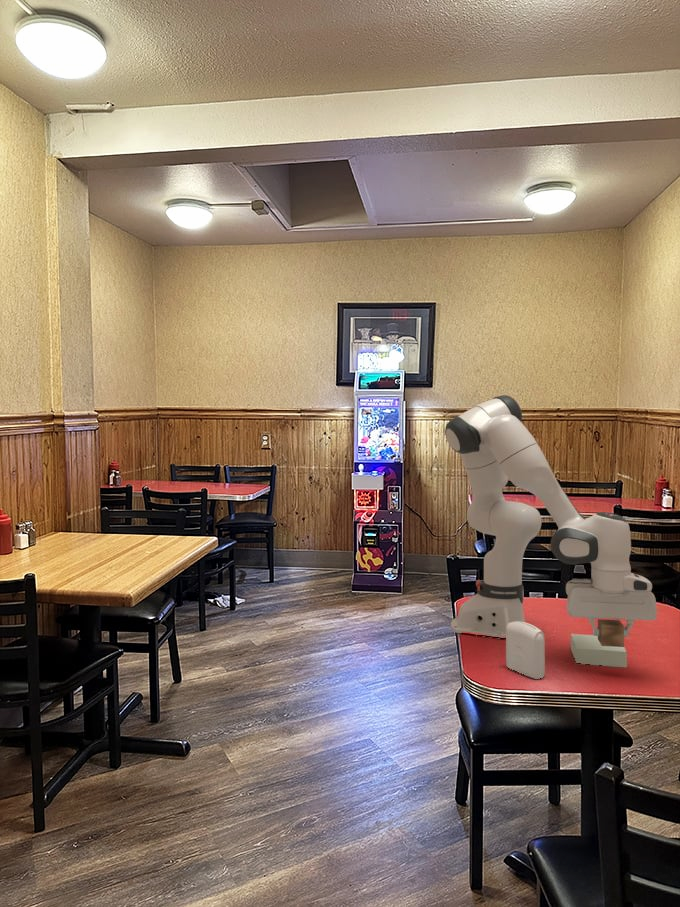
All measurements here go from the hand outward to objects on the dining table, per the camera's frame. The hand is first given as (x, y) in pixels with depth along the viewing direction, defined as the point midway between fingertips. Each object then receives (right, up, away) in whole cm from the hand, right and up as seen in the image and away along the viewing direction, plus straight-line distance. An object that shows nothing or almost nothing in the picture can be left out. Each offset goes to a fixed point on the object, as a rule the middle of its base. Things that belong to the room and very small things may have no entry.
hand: (610, 636), depth 154 cm
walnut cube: (0, -2, 0) cm, 2 cm away
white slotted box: (-20, -10, +2) cm, 23 cm away
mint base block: (+2, -9, +12) cm, 15 cm away
